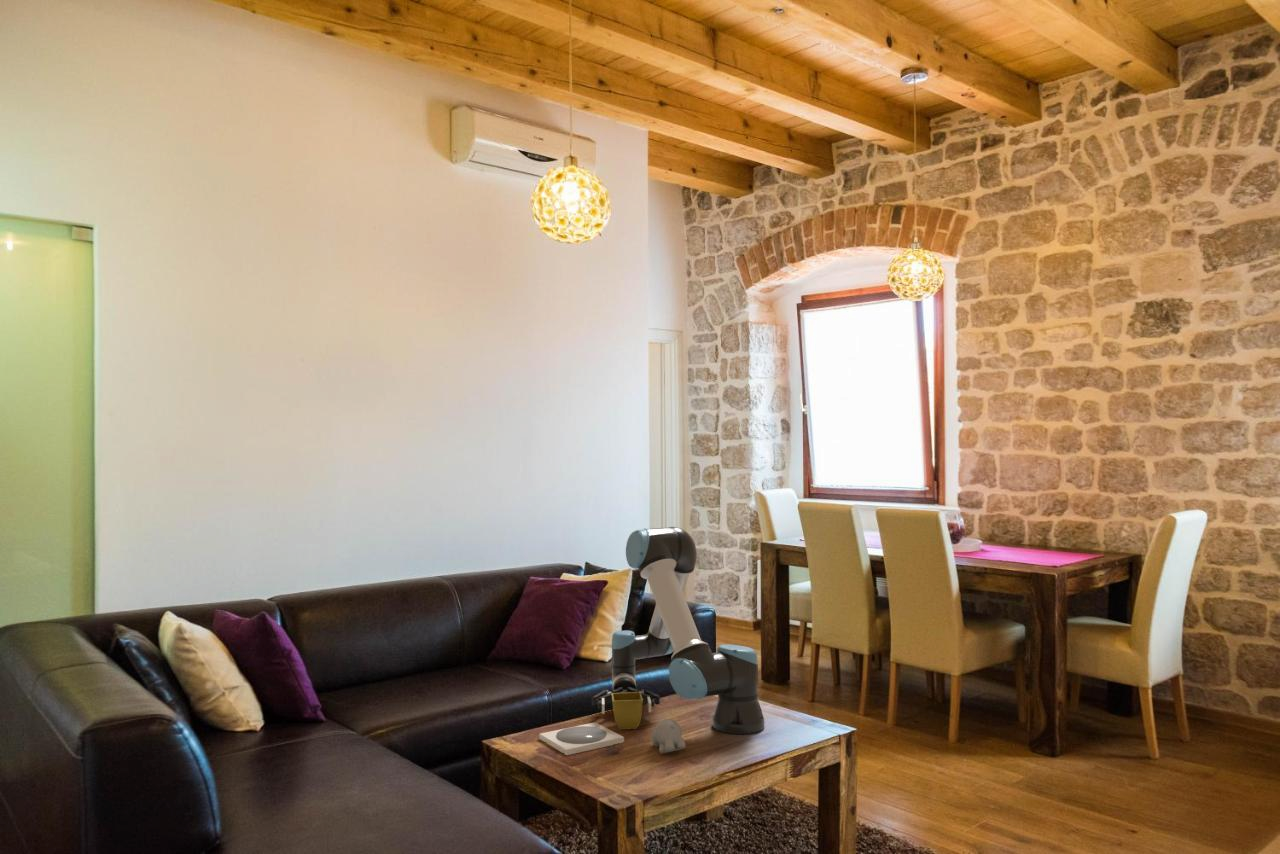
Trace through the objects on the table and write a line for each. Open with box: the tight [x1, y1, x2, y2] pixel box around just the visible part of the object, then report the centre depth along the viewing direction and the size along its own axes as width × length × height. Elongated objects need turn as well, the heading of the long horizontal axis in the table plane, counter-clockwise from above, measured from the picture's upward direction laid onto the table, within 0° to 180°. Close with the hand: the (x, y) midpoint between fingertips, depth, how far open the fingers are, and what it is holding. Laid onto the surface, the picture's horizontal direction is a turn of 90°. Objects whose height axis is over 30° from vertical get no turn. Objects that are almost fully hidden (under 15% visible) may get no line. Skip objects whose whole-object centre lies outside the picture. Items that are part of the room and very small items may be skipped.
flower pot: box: [611, 692, 644, 730], centre depth 261 cm, size 9×9×9 cm
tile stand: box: [539, 721, 625, 756], centre depth 249 cm, size 16×18×2 cm
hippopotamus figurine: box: [650, 718, 686, 755], centre depth 241 cm, size 7×12×8 cm, turn 30°
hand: (626, 708), depth 259 cm, fingers open, 13 cm apart
